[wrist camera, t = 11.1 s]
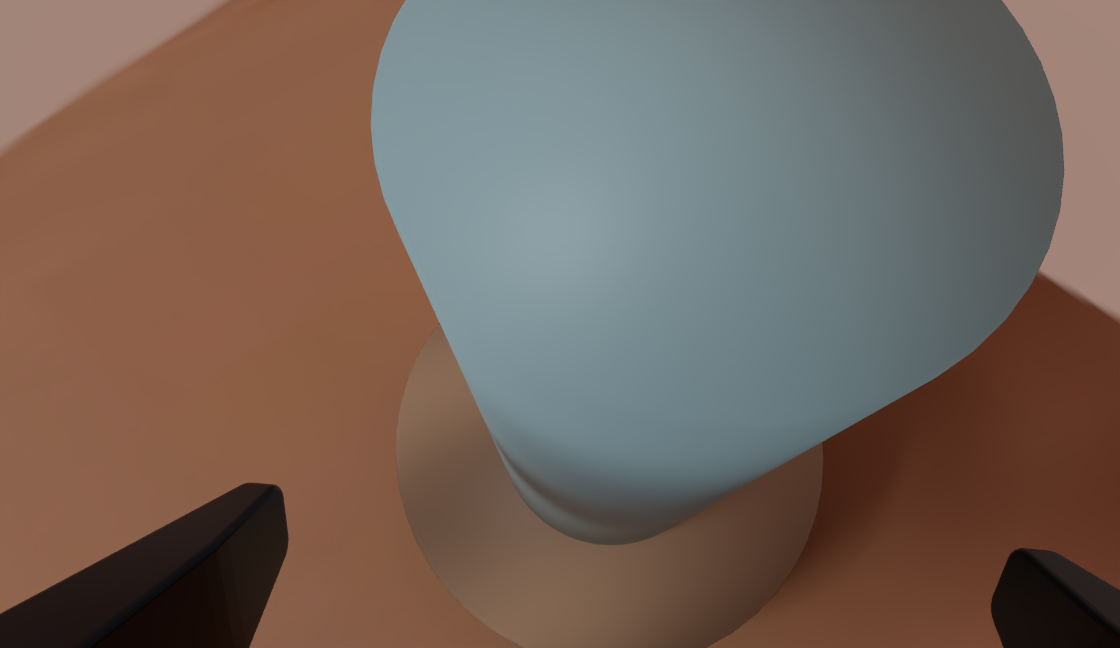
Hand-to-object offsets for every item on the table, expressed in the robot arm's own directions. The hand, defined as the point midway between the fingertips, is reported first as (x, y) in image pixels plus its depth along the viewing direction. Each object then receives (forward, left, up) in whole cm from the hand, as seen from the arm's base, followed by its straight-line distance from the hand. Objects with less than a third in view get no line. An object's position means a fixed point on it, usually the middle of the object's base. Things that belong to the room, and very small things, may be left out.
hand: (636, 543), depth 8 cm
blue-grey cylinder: (+3, -2, -9) cm, 9 cm away
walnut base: (+3, -2, -12) cm, 12 cm away
